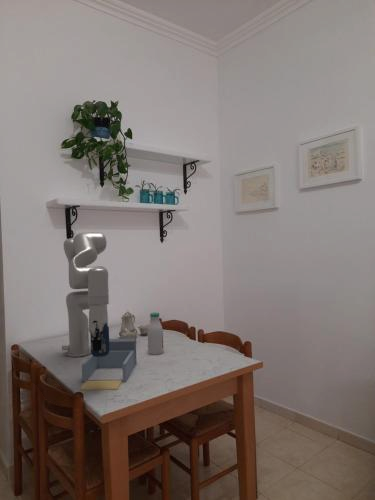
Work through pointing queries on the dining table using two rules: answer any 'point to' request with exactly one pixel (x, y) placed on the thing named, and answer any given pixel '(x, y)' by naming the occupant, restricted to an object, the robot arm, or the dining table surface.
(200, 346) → the dining table surface
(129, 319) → the chinaware
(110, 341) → the truck bed
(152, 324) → the milk bottle
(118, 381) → the panel
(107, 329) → the soda can
